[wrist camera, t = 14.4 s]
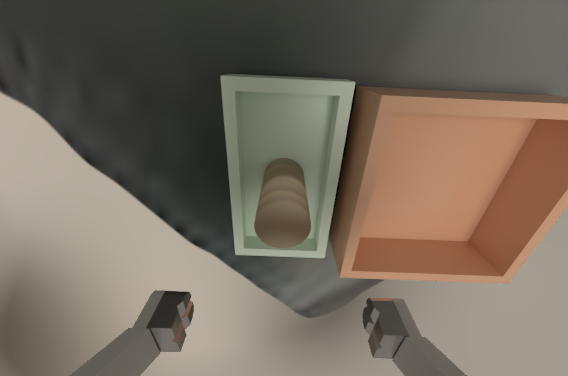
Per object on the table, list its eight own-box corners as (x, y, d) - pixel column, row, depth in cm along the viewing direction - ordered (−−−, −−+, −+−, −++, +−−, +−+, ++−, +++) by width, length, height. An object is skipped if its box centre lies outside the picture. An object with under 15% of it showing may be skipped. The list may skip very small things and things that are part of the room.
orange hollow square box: (356, 86, 20) (382, 95, 15) (550, 95, 20) (643, 107, 15) (329, 237, 28) (339, 277, 23) (467, 242, 28) (507, 283, 23)
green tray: (229, 73, 20) (220, 75, 17) (346, 79, 20) (355, 81, 17) (240, 236, 28) (235, 254, 26) (321, 239, 28) (324, 258, 26)
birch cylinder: (264, 157, 22) (253, 201, 15) (305, 158, 22) (314, 204, 15) (264, 192, 24) (254, 247, 17) (302, 194, 24) (308, 249, 17)
